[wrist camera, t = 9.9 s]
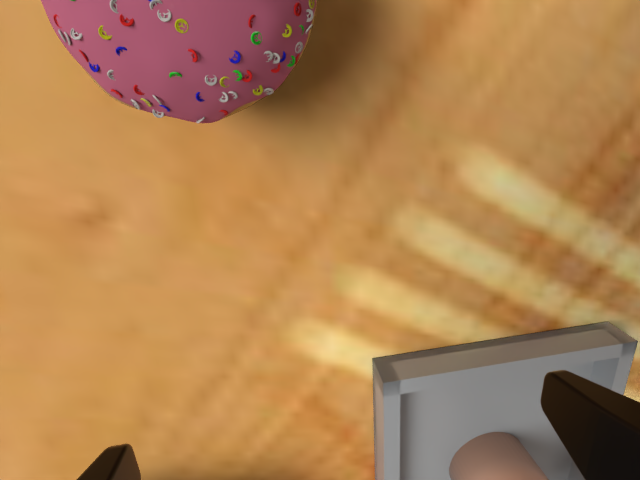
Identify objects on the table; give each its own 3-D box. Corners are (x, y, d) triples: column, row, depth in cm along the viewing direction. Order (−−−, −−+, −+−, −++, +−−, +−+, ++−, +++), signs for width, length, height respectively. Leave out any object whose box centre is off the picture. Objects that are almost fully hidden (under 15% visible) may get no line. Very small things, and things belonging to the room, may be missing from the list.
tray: (607, 321, 26) (637, 341, 24) (561, 525, 33) (581, 553, 31) (372, 358, 24) (383, 382, 22) (376, 565, 31) (385, 598, 29)
